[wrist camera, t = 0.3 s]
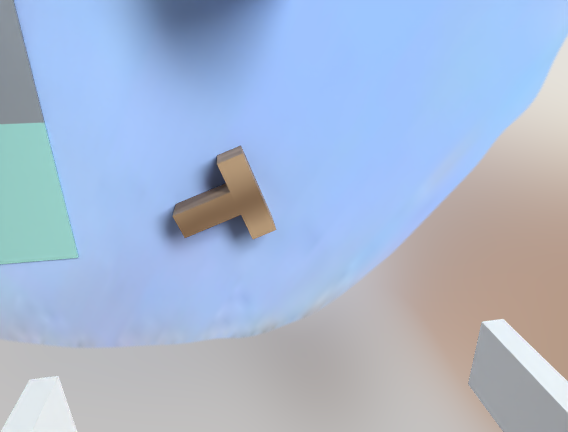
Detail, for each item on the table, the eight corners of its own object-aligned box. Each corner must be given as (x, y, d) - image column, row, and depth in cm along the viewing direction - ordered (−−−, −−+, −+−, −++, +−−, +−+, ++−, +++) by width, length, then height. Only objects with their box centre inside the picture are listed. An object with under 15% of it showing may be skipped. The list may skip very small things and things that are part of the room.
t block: (161, 178, 37) (157, 189, 34) (240, 145, 37) (242, 153, 34) (199, 247, 40) (198, 262, 38) (272, 217, 40) (276, 229, 38)
